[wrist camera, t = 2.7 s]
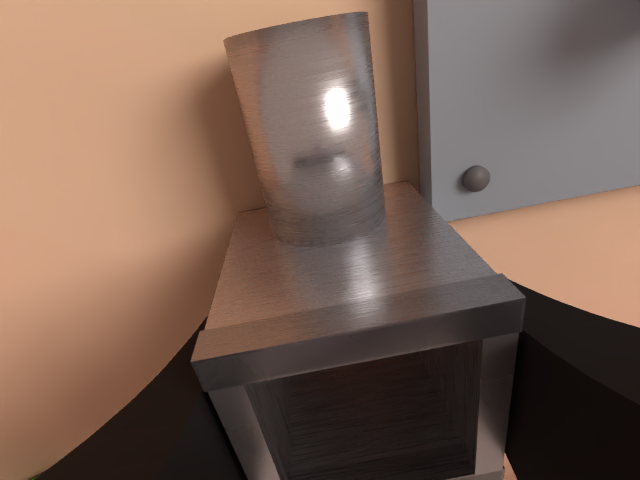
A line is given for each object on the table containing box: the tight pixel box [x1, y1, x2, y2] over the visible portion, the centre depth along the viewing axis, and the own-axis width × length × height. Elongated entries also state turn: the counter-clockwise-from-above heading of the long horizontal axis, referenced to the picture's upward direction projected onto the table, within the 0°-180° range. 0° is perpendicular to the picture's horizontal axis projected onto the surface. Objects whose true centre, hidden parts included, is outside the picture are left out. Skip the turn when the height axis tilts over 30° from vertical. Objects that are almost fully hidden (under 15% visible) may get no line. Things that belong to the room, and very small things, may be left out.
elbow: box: [190, 12, 526, 480], centre depth 8 cm, size 10×5×6 cm, turn 10°
